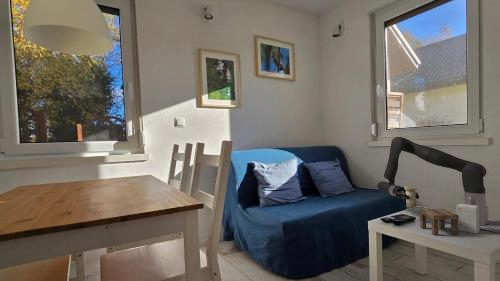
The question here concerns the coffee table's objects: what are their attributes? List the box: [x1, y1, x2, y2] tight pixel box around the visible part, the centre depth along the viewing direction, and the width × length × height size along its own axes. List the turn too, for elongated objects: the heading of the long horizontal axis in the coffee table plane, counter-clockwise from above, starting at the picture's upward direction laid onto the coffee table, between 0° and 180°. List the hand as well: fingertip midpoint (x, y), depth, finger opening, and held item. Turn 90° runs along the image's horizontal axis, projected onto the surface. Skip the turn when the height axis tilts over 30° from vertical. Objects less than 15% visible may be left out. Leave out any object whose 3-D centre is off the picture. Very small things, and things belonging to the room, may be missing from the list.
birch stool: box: [403, 186, 418, 209], centre depth 154 cm, size 6×6×11 cm
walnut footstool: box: [418, 208, 459, 236], centre depth 138 cm, size 12×12×10 cm
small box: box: [455, 203, 480, 234], centre depth 137 cm, size 8×6×13 cm
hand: (413, 197), depth 151 cm, fingers closed on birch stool, 4 cm apart
